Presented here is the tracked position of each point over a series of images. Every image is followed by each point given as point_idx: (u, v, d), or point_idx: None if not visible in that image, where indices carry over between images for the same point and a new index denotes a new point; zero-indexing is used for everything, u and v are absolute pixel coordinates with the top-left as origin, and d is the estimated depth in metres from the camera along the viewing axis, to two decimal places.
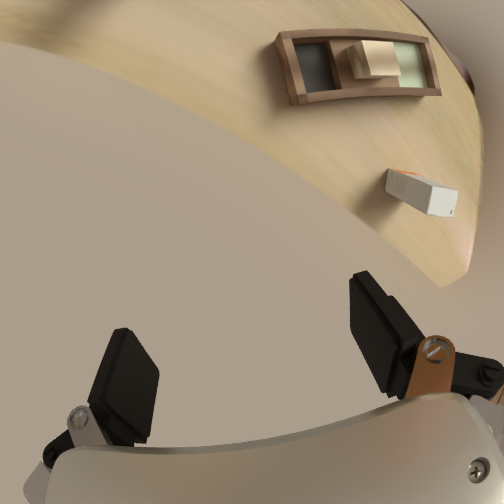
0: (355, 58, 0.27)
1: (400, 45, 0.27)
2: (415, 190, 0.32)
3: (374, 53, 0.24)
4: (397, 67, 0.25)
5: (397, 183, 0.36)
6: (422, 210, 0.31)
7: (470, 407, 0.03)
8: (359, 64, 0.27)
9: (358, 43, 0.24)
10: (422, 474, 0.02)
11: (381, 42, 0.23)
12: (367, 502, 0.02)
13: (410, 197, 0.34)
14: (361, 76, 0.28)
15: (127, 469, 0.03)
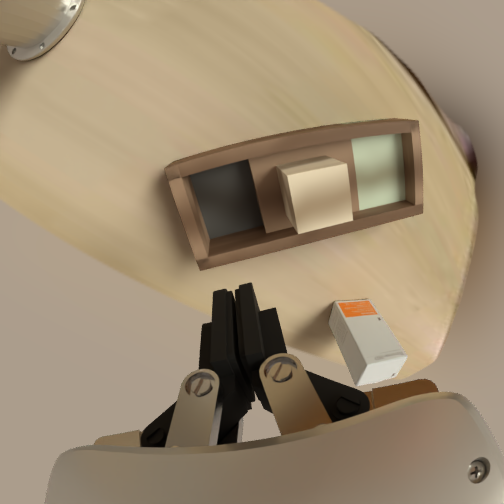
0: (284, 191, 0.24)
1: (370, 139, 0.24)
2: (352, 353, 0.29)
3: (308, 195, 0.21)
4: (348, 208, 0.22)
5: (339, 327, 0.33)
6: (353, 379, 0.28)
7: (470, 407, 0.03)
8: (288, 204, 0.23)
9: (284, 175, 0.21)
10: (422, 474, 0.02)
11: (324, 169, 0.20)
12: (367, 502, 0.02)
13: (346, 354, 0.30)
14: (290, 221, 0.24)
15: (127, 469, 0.04)
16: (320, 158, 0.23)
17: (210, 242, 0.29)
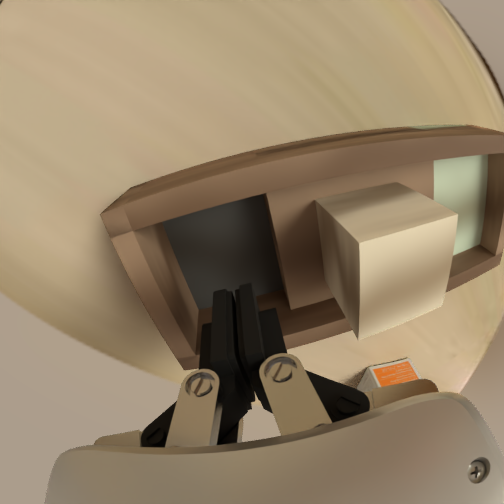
0: (332, 253, 0.12)
1: None
2: None
3: (389, 277, 0.10)
4: (441, 290, 0.10)
5: None
6: None
7: (470, 407, 0.03)
8: (339, 278, 0.12)
9: (347, 235, 0.10)
10: (422, 474, 0.02)
11: (426, 227, 0.09)
12: (367, 502, 0.02)
13: None
14: (338, 302, 0.13)
15: (127, 469, 0.03)
16: (394, 189, 0.12)
17: (199, 318, 0.17)
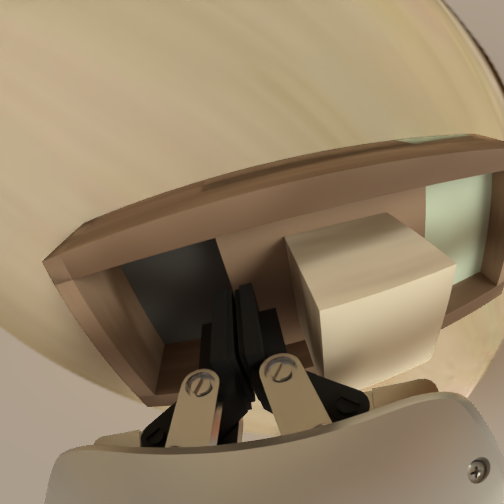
0: (301, 302, 0.11)
1: None
2: None
3: (362, 342, 0.08)
4: (429, 345, 0.09)
5: None
6: None
7: (470, 407, 0.03)
8: (308, 330, 0.11)
9: (310, 294, 0.08)
10: (422, 474, 0.02)
11: (412, 285, 0.07)
12: (367, 502, 0.02)
13: None
14: None
15: (127, 469, 0.03)
16: (381, 224, 0.10)
17: (163, 354, 0.16)
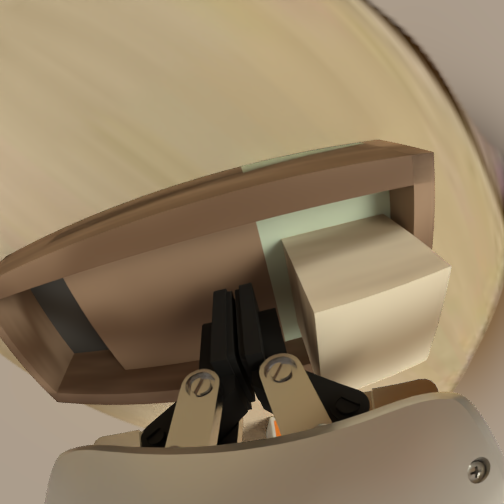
0: (298, 303, 0.11)
1: None
2: None
3: (357, 343, 0.08)
4: (425, 346, 0.09)
5: None
6: None
7: (470, 407, 0.03)
8: (305, 331, 0.11)
9: (305, 296, 0.08)
10: (422, 474, 0.02)
11: (407, 287, 0.07)
12: (367, 502, 0.02)
13: None
14: (307, 352, 0.12)
15: (127, 469, 0.03)
16: (377, 226, 0.11)
17: (71, 361, 0.16)
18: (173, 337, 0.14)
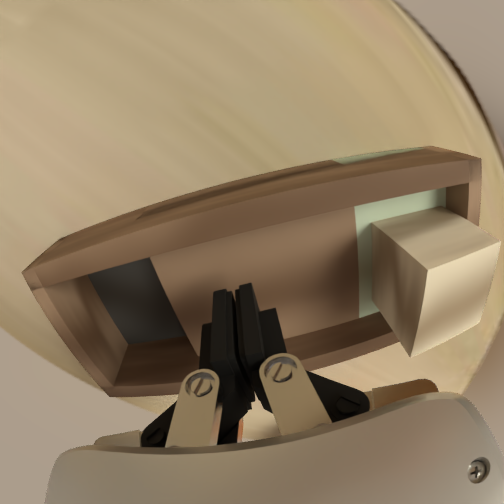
0: (388, 275, 0.12)
1: None
2: None
3: (444, 299, 0.09)
4: (480, 308, 0.10)
5: None
6: None
7: (470, 407, 0.03)
8: (393, 299, 0.12)
9: (412, 261, 0.09)
10: (422, 474, 0.02)
11: (477, 254, 0.08)
12: (367, 502, 0.02)
13: None
14: (388, 321, 0.13)
15: (127, 469, 0.03)
16: (441, 214, 0.12)
17: (126, 352, 0.17)
18: None
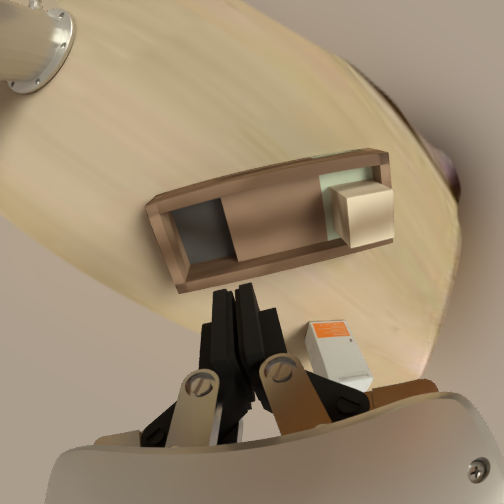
0: (337, 210, 0.26)
1: (339, 172, 0.27)
2: (320, 372, 0.31)
3: (361, 215, 0.23)
4: (391, 227, 0.24)
5: (312, 346, 0.35)
6: None
7: (470, 407, 0.03)
8: (340, 221, 0.26)
9: (342, 197, 0.24)
10: (422, 474, 0.02)
11: (376, 194, 0.23)
12: (367, 502, 0.02)
13: (316, 372, 0.32)
14: (341, 236, 0.27)
15: (127, 469, 0.03)
16: (367, 182, 0.26)
17: (190, 268, 0.32)
18: (274, 235, 0.29)
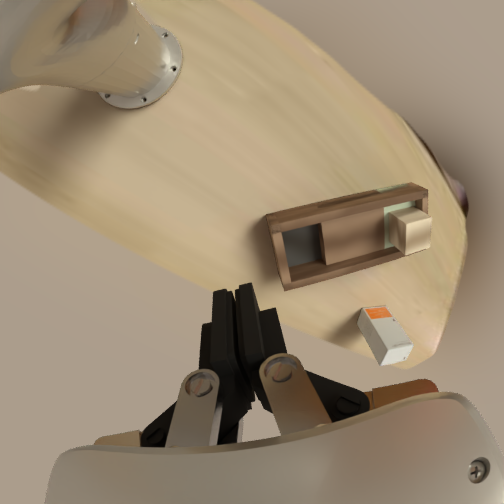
0: (395, 229, 0.36)
1: None
2: (376, 343, 0.41)
3: (413, 234, 0.33)
4: (428, 241, 0.34)
5: (366, 326, 0.46)
6: (377, 361, 0.40)
7: (470, 407, 0.03)
8: (397, 237, 0.36)
9: (402, 222, 0.34)
10: (422, 474, 0.02)
11: (422, 220, 0.33)
12: (367, 502, 0.02)
13: (372, 344, 0.43)
14: (396, 246, 0.37)
15: (127, 469, 0.03)
16: (412, 209, 0.36)
17: None
18: (352, 245, 0.39)
